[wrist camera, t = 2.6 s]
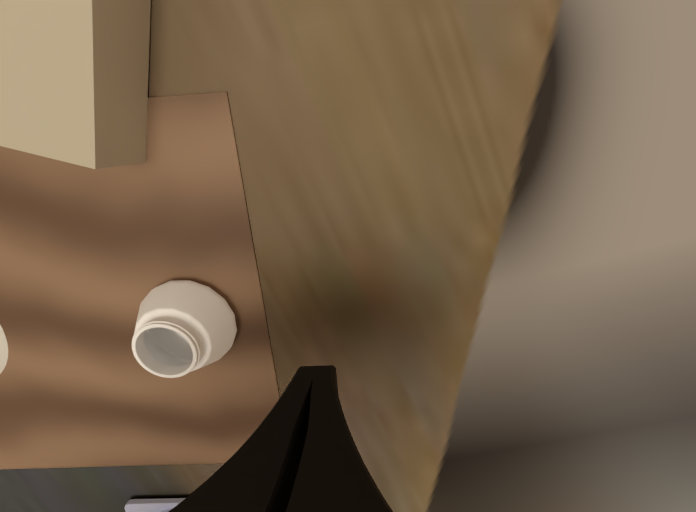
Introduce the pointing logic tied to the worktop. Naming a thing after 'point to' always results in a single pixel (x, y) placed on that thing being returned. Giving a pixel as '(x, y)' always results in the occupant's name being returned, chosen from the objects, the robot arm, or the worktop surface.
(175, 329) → the lidless jar
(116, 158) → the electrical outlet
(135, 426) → the wooden board
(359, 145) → the worktop surface
